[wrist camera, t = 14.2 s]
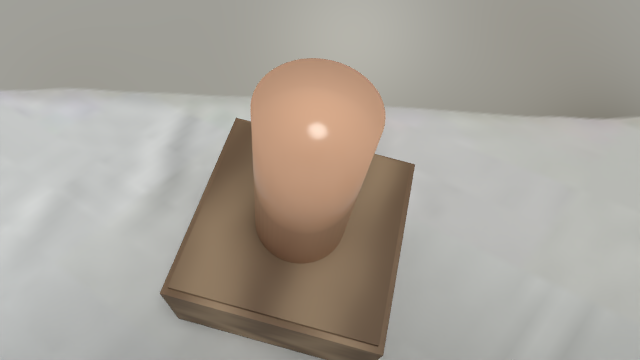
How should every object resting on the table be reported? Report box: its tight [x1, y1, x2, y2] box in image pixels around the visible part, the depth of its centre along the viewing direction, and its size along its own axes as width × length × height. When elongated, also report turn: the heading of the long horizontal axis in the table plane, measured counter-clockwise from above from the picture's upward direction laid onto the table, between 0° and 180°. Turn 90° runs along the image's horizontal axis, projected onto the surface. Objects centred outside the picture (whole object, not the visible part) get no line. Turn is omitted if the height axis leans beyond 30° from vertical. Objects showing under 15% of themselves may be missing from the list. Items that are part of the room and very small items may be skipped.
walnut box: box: [160, 118, 415, 360], centre depth 34 cm, size 14×14×7 cm
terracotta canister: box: [251, 58, 385, 264], centre depth 25 cm, size 6×6×12 cm
